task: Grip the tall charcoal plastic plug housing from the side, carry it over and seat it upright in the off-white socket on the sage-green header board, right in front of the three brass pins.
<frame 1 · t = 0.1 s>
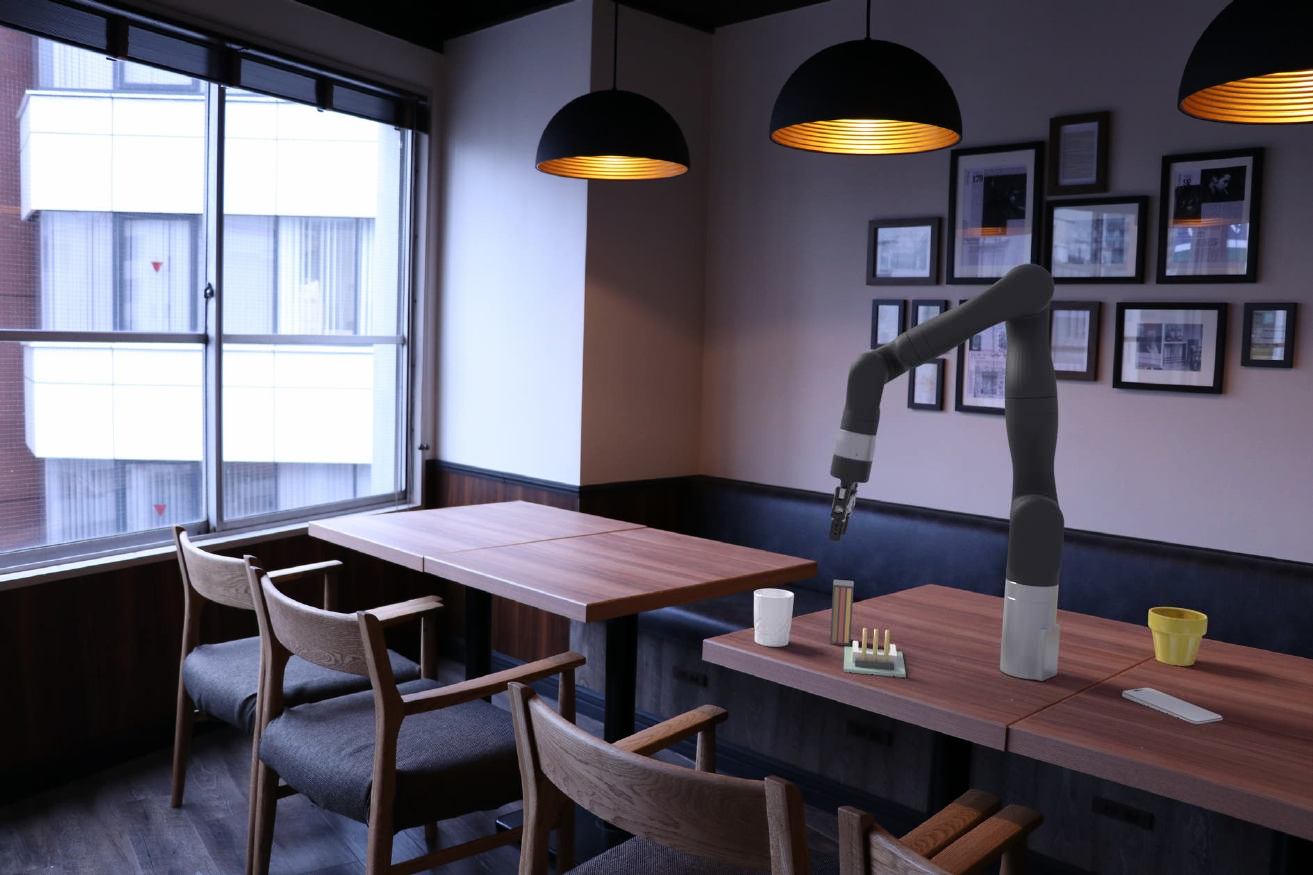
hand: (837, 536, 201), 22 cm above the table, tool pointing down, fingers open, 8 cm apart
smartphone: (1170, 710, 176), on the table
header board: (873, 660, 196), on the table
plug housing: (840, 641, 209), on the table
white cup: (771, 643, 207), on the table
plant pot: (1174, 662, 204), on the table
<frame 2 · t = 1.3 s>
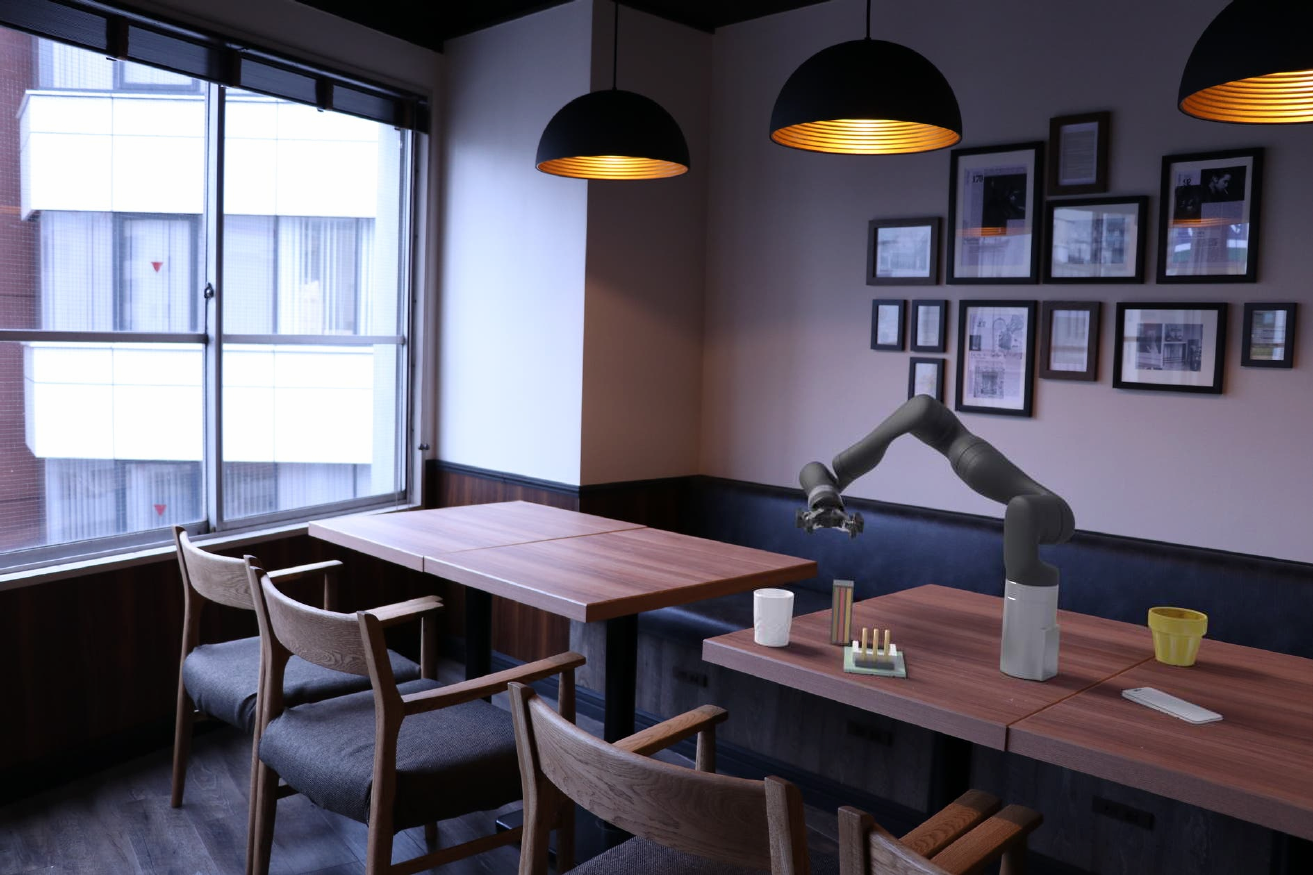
hand: (831, 532, 214), 21 cm above the table, tool horizontal, fingers open, 8 cm apart
nothing on the table moved.
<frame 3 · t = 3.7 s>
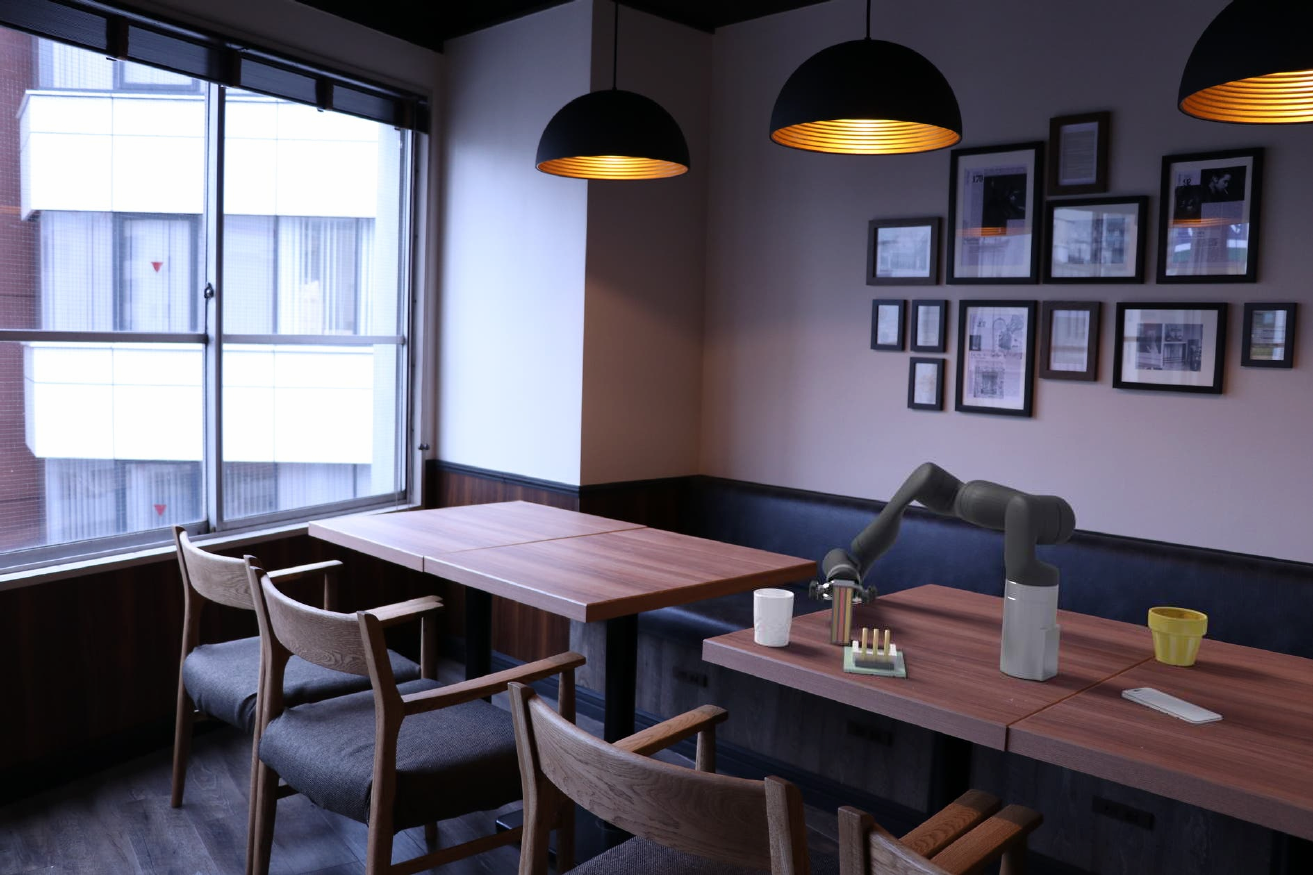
hand: (842, 598, 216), 7 cm above the table, tool horizontal, fingers open, 8 cm apart
nothing on the table moved.
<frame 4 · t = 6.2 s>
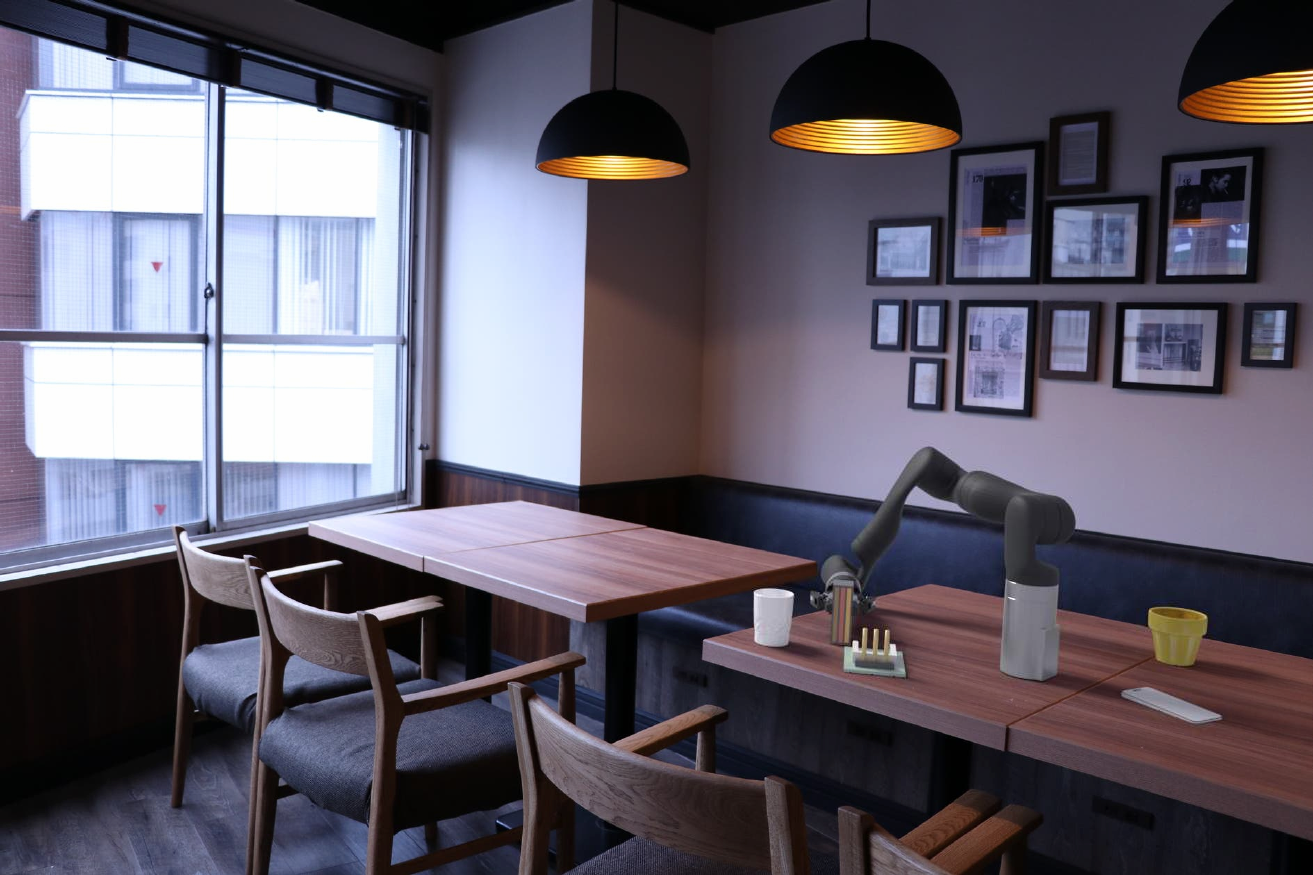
hand: (842, 610, 206), 7 cm above the table, tool horizontal, fingers closed on plug housing, 4 cm apart
plug housing: (840, 641, 209), on the table, touching gripper
everything else where it was.
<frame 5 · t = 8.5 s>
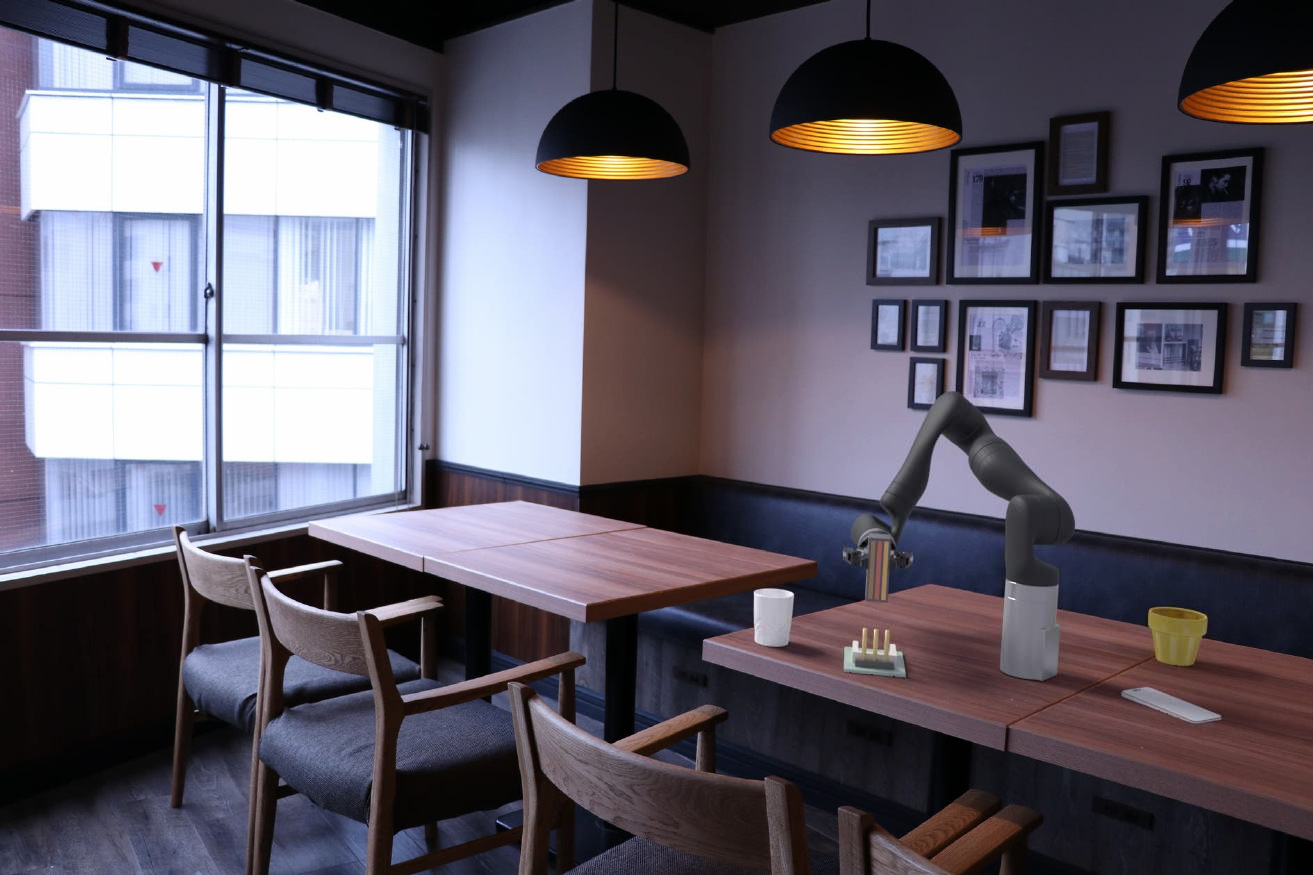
hand: (878, 564, 192), 19 cm above the table, tool horizontal, fingers closed on plug housing, 4 cm apart
plug housing: (876, 598, 196), point 12 cm above the table, touching gripper
everything else where it was.
when the fingers open (9 cm above the table, at t = 10.7 s): plug housing drops 2 cm, resting on header board.
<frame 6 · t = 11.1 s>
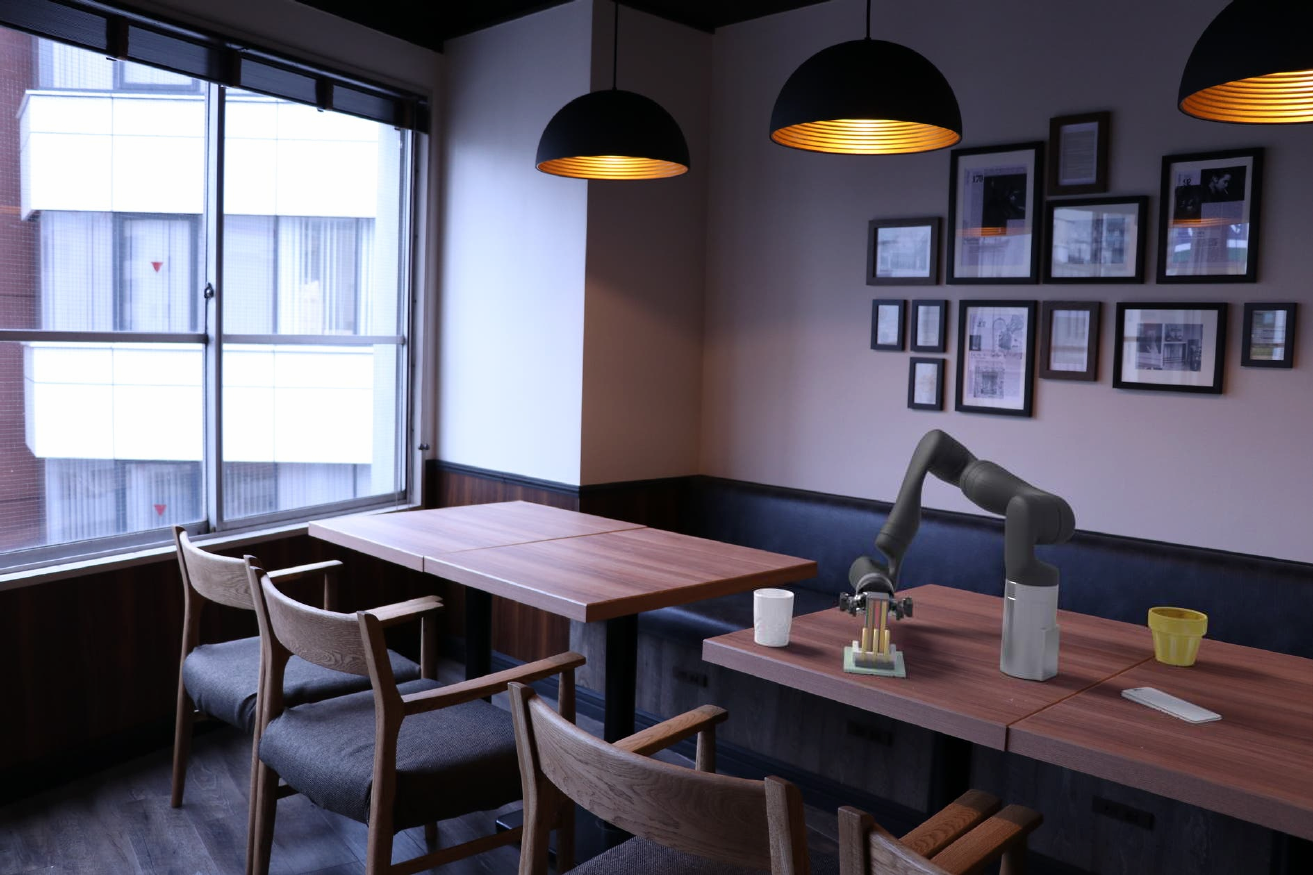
hand: (876, 613, 194), 10 cm above the table, tool horizontal, fingers open, 7 cm apart
plug housing: (873, 657, 196), point 1 cm above the table, touching header board
everything else where it was.
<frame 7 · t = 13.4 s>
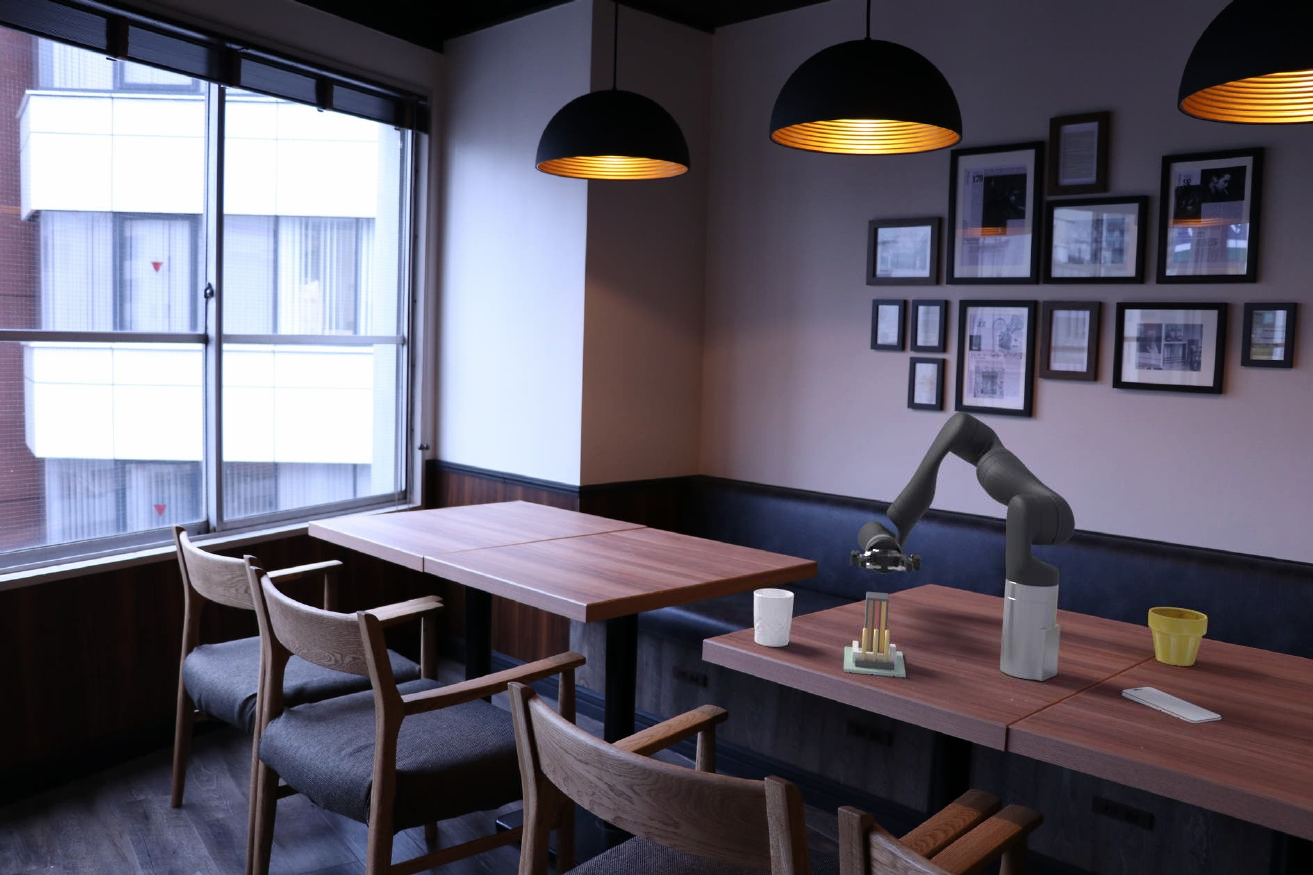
hand: (886, 566, 208), 16 cm above the table, tool horizontal, fingers open, 8 cm apart
nothing on the table moved.
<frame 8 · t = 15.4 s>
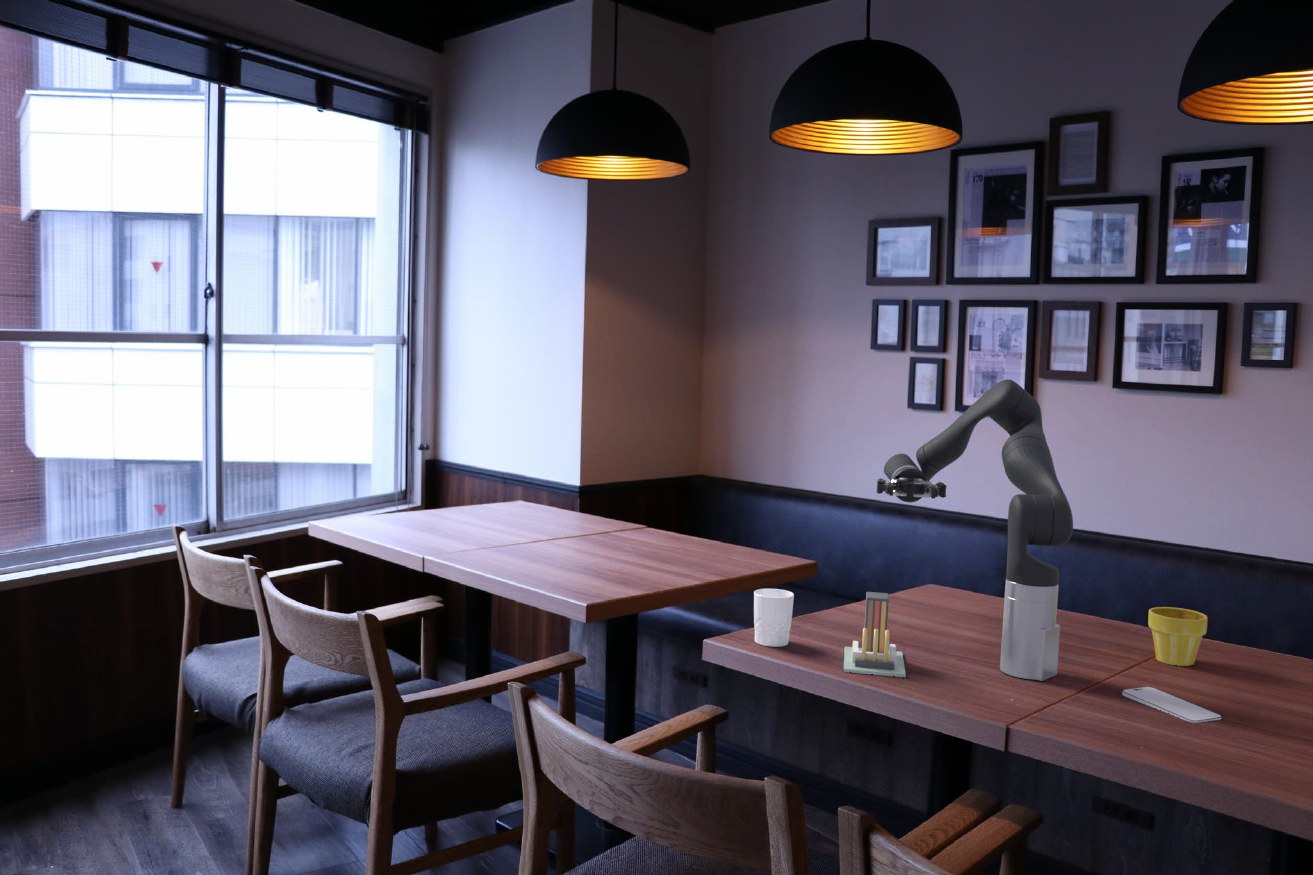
hand: (912, 492, 214), 30 cm above the table, tool horizontal, fingers open, 8 cm apart
nothing on the table moved.
at the end: plug housing 0.0 cm from the header board (horizontally); plug housing tilted 0°; the gripper is holding nothing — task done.
